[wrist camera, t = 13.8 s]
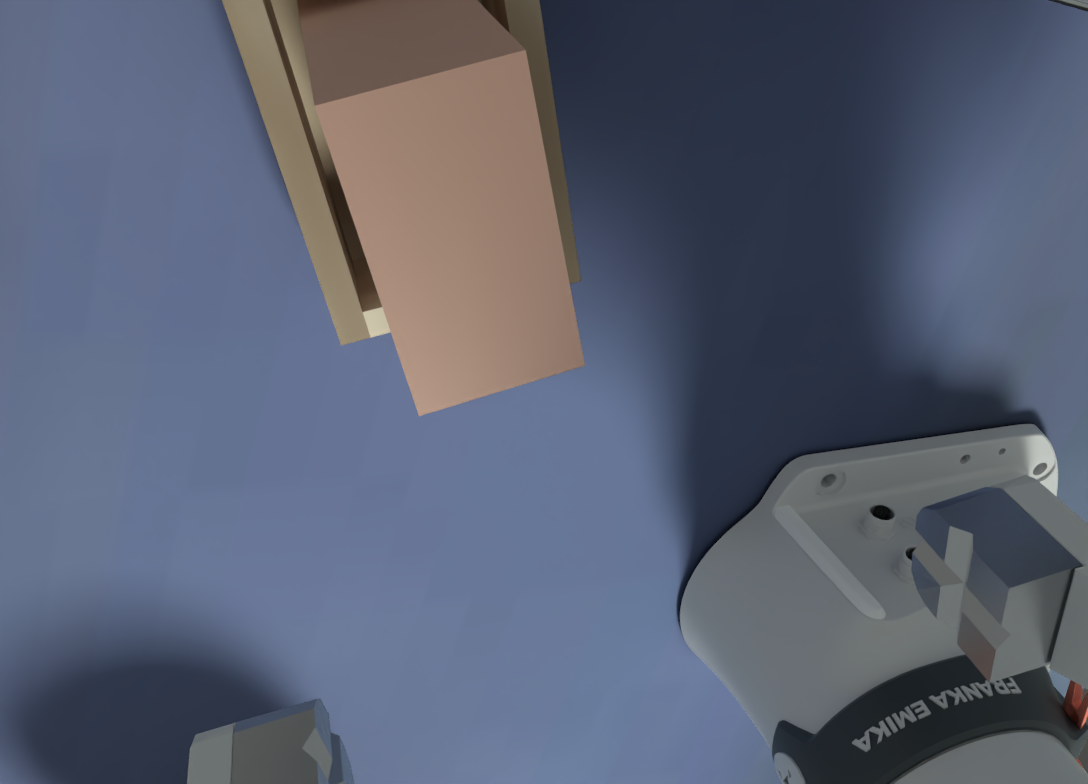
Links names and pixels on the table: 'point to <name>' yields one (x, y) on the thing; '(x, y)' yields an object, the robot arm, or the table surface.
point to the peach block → (445, 190)
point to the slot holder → (307, 166)
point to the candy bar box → (1074, 3)
